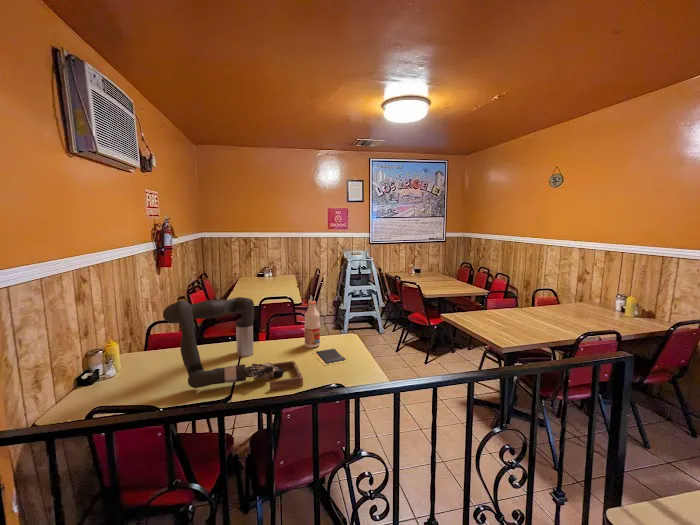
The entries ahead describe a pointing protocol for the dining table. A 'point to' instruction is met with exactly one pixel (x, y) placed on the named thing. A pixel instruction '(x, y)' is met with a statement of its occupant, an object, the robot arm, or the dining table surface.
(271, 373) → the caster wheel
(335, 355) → the wallet
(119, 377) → the dining table surface
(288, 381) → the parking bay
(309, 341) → the fruit juice
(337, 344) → the dining table surface
